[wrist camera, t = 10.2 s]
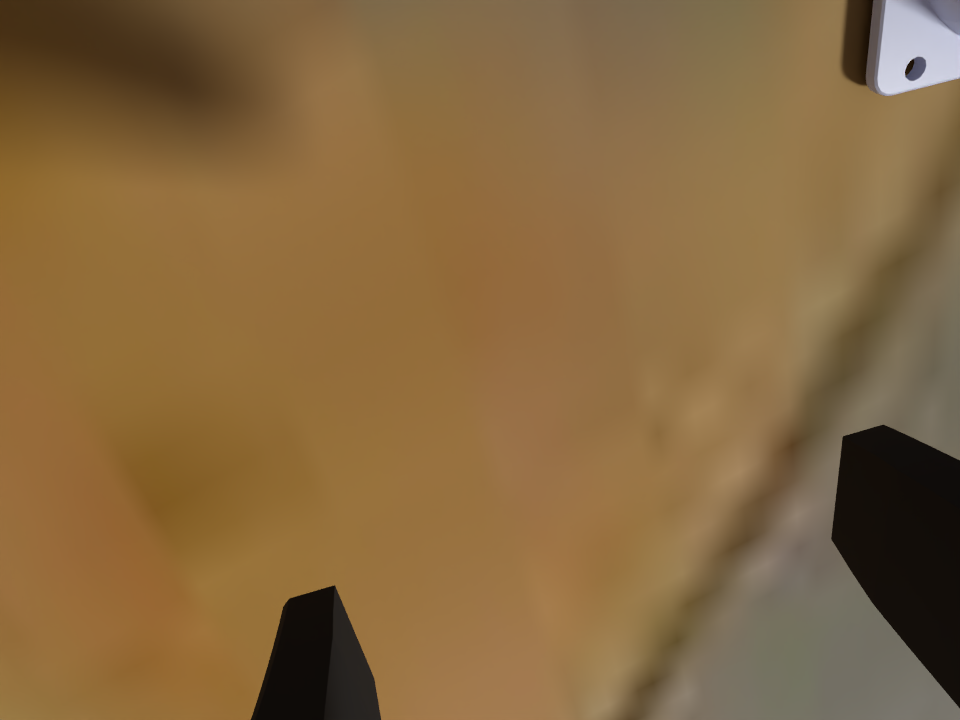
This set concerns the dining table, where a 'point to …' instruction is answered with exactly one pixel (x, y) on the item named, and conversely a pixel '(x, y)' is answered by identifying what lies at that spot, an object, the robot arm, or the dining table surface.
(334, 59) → the dining table surface
